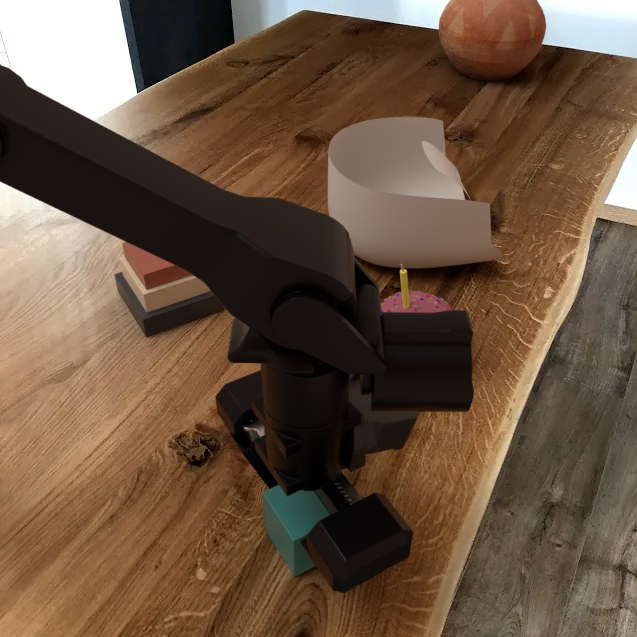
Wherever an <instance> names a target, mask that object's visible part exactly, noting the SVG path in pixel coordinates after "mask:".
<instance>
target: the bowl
mask: <svg viewBox="0 0 637 637" xmlns="http://www.w3.org/2000/svg"><path fill="white" fill-rule="evenodd" d="M445 141H446V140H445V128H444V120H442V119H438V118H432V117H424V116H391V117H380V118H379V117H378V118H374V119H373V118H372V119H368V120H364V121H359V122H356V123H353V124H351V125H350V124H349V125H348V126H346V127H344V128H341V129H340V130H339V131H338V132H337V133H336V134H334V136H333V137H332V138H331V140H330V142H329V145H328V151H327V152H328V153H327V155H328V156H327V208H328V216H330V217H332V218H334V219H335V220H337V221H338V222H339V223H341V224H342V225H343V226H344V227H345V229H346V230H347V231H348V233H349V237H350V239H351V242H352V246H353V251H354V257H357V258H359V259H361V260H362V261H365V262H368V263H371V264H373V265H377V266H382V267H387V268H396V269H401V265H400V264H402V265H403V269H430V268H432V269H433V268H441V267H451V266H452V267H453V266H460V265H468V264H475V263H483V262H489V261H490V262H491V261H498V260H503V258H504V254H503V252H502V251H501V250H500V249H499V248H497V247H496V246H494V245H492V224H491V223H492V222H491V221H492V220H491V203H489V202H484V201H477V200H472V199H471V198H470V195H469V193H468V192H467V190H466V188H465V186H464V185H463V183H462V179H461V175H460V173H459V170H458V168H457V167H456V165H455V164H454V163H453V162H452V161H451V160H450V159H449V158H448V157H447V155H446V154H447V153H446V142H445ZM464 192H465V194H466V195H467V197H468V198H469V200H468V199H466V197H465V194H464Z"/></svg>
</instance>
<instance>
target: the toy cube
mask: <svg viewBox="0 0 637 637" xmlns="http://www.w3.org/2000/svg"><path fill="white" fill-rule="evenodd" d="M262 508H263V522H264V523H263V524H264V531H265V532H266V534H267V535H268V537H269V538H270V541H271V542H272V544H273V545H274V547H275V548H276V551H277V552H278V553H279V555H280V557H281V558H282V560H283V561H284V563H285V565H286V566H287V567H288V570H289V571H290V572H291V574H292V576H293V577H294V578H295V577H296V578H297V576H300V575H302V574H304V573H305V572H307V571H309V570H311V569H312V568H316V566H315V565H314V563H313V562H312V560H311V559H310V557H309V555H308V554H307V552H306V551H305V549H304V548H303V546H302V545H301V543H300V541H301V540H303V539H305V538H307V534H308V533H309V532H310V530H311V529H312V528H313V527H314V526H315V525H316V524H317V522H318V521H319V520H321V519H323V518H325V517H327V516H329V515H330V514H329V513H328V511H327V510H326V508H325V507H324V506H323V504H322V503H321V501H320V500H319V498H318V497H317V496H316V494H315V493H314V491H303V490H301V491H298V492H296V493H294V494H292V495H290V496H286V494H285V493H284V491H283V490H282V488H281V487H280V485H277V486H275V487H273V488H271V489H269V488H268V489H267V490H265V491H262Z"/></svg>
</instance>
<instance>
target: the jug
mask: <svg viewBox="0 0 637 637" xmlns="http://www.w3.org/2000/svg"><path fill="white" fill-rule="evenodd" d="M546 30H547V20H546V15H545V13H544V10H543V7H542V6H541V4H540V2H539V1H538V0H449V1H448V3H447V4H446V6H445V7H444V9H443V10H442V13H441V15H440V16H439V19H438V35H439V36H438V37H439V42H440V45H441V48H442V50H443V52H444V53H445V55H446V57H447V59H448V60H449V62H450V63H451V65H452V66H453V68H454V69H455V70H456V71H457V72H458V73H459V74H461V75H463V76H466V77H467V78H470V79H474V80H478V81H479V80H480V81H484V82H485V81H487V82H488V81H489V82H490V81H491V82H496V81H497V82H498V81H504V80H509V79H511V78H514V77H515V76H516V75H518V74H519V73H520V72H521V71H523V69H524V68H525V67H526V66H528V65H529V64H530V63H531V62H532V61H533V59H534V58H535V57H536V56H537V55H538V53H539V51H540V50H541V47H542V45H543V42H544V39H545V36H546V32H547V31H546Z"/></svg>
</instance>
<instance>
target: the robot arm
mask: <svg viewBox="0 0 637 637" xmlns="http://www.w3.org/2000/svg"><path fill="white" fill-rule="evenodd" d="M0 183H1V184H3V185H6V186H8V187H10V188H12V189H14V190H16V191H18V192H20V193H22V194H24V195H27V196H29V197H31V198H33V199H35V200H37V201H39V202H41V203H43V204H46V205H48V206H50V207H52V208H54V209H56V210H58V211H60V212H63V213H65V214H66V215H69V216H71V217H73V218H75V219H77V220H79V221H81V222H83V223H85V224H87V225H90V226H91V227H94V228H96V229H98V230H100V231H102V232H104V233H106V234H108V235H111V236H113V237H115V238H117V239H119V240H121V241H123V242H124V243H125V242H127V243H129V244H131V245H134V246H136V247H138V248H140V249H142V250H144V251H146V252H148V253H150V254H152V255H155V256H157V257H159V258H161V259H163V260H165V261H167V262H169V263H171V264H173V265H176V266H178V267H180V268H182V269H184V270H186V271H187V272H189V273H190V274H192V275H193V276H195V277H196V278H198V279H199V280H201V281H202V282H203V283H205V284H206V286H207V287H208V288H209V289H210V290H211V292H212V293H213V294H214V295H215V296H216V298H217V299H218V300H219V301H220V302H221V304H222V305H223V308H224V309H225V310H226V311H227V313H228V314H230V316H232V317H233V319H232V321H231V327H230V333H229V334H230V335H229V340H228V341H229V342H228V348H227V356H226V359H227V360H228V362H230V363H231V364H260V369H259V370H256V371H253V372H251V373H249V374H247V375H244V376H242V377H239V378H237V379H234V380H232V381H229V382H227V383H225V384H224V385H223V386H222V387H221V388H220V390H219V391H218V393H217V394H216V395H215V396H214V397H215V399H214V400H215V407H216V413H217V415H218V416H219V418H220V420H222V422H223V424H224V426H225V427H226V429H227V430H228V432H229V435H230V437H231V439H232V440H233V441H234V443H235V444H236V446H237V448H238V449H239V450H240V452H241V454H242V455H243V457H244V458H245V459H246V461H247V462H248V463H249V464H250V466H251V467H252V468H253V469H254V471H255V472H256V474H257V475H258V476H259V477H260V479H261V480H262V481H263V483H264V484H265V485H266V487H267V488H268V490H269V489H271V488H273V487H275V486H277V485H280V487H281V488H282V490H283V491H284V493H285V494H286V496H290V495H292V494H294V493H296V492H298V491H301V490H303V491H314V493H315V494H316V496H317V497H318V498H319V500H320V501H321V503H322V504H323V506H324V507H325V508H326V510H327V511H328V513H329V514H330V515H329V516H327V517H325V518H323V519H321V520H319V521H318V522H317V524H316V525H315V526H314V527H313V528H312V529H311V530H310V532H309V533H308V534H307V538H305V539H303V540H301V541H300V543H301V545H302V546H303V548H304V549H305V551H306V552H307V554H308V555H309V557H310V559H311V560H312V562H313V563H314V565H315V568H316V569H317V571H318V572H319V573H320V574H321V575H322V577H323V578H324V579H325V581H326V583H327V584H328V586H329V587H330V589H331V590H332V591H333V592H337V593H340V594H346V593H348V592H350V591H352V590H353V589H355V588H357V587H359V586H361V585H362V584H364V583H366V582H368V581H370V580H371V579H373V578H376V577H377V576H378V575H380V574H383V573H384V572H386V571H388V570H389V569H391V568H393V567H394V566H396V565H398V564H400V563H402V562H403V561H405V560H407V559H409V558H410V554H411V550H412V544H413V537H414V530H413V529H412V528H411V526H410V524H408V523H407V521H406V520H405V519H404V518H403V517H402V515H401V514H400V513H399V511H398V509H396V508H395V507H394V505H393V504H392V502H390V499H388V498H387V496H386V495H385V494H381V493H377V492H373V493H371V494H369V495H366V496H361V495H360V494H359V493H358V491H357V490H356V489H355V487H354V486H353V485H352V484H351V482H350V480H348V478H347V477H346V476H345V474H344V473H343V471H344V470H346V469H347V470H348V471H349V473H353V472H355V471H357V470H359V469H361V468H364V467H365V466H366V457H367V455H372V454H376V453H381V452H385V451H391V450H394V451H399V450H403V448H404V447H405V445H406V443H407V441H408V439H409V436H410V434H411V433H412V431H413V428H414V426H415V425H416V423H417V420H418V418H419V416H420V413H421V412H422V413H423V412H424V413H427V412H429V413H430V412H431V413H433V412H434V413H435V412H437V413H467V412H469V411H470V410H471V407H472V404H473V400H474V394H475V387H474V383H473V353H472V342H473V337H474V330H473V326H472V321H471V317H470V313H469V312H468V310H464V309H463V310H461V309H459V310H458V309H453V310H447V311H441V312H433V313H422V312H382V314H381V296H380V294H381V293H380V286H379V283H377V281H376V280H375V279H374V278H373V277H372V275H371V274H370V273H369V272H368V271H367V270H366V269H365V268H364V266H363V265H362V264H361V262H359V260H357V259H358V258H357V259H356V256H355V255H354V251H353V246H352V242H351V239H350V237H349V233H348V231H347V230H346V229H345V227H344V226H343V225H342V224H341V223H339V222H338V221H337V220H335V219H334V218H332V217H330V216H329V214H325V213H324V212H320V211H317V210H314V209H311V208H309V207H306V206H303V205H301V204H297V203H294V202H292V201H289V200H286V199H283V198H280V197H270V196H269V197H268V196H267V197H265V196H244V195H241V194H238V193H235V192H232V191H230V190H226V189H224V188H222V187H219V186H218V185H217V184H213V183H212V182H211V181H208V180H207V179H204V178H203V177H201V176H199V175H198V174H197V175H196V174H195V173H193V172H191V171H189V170H187V169H185V168H184V167H181V166H180V165H178V164H176V163H174V162H172V161H171V160H168V159H167V158H165V157H163V156H161V155H159V154H157V153H156V152H153V151H151V150H150V149H147V148H146V147H144V146H142V145H140V144H138V143H137V142H134V141H133V140H130V139H128V138H127V137H125V136H123V135H121V134H119V133H117V132H116V131H114V130H112V129H110V128H108V127H106V126H104V125H102V124H101V123H99V122H96V121H95V120H93V119H92V118H89V117H88V116H85V115H84V114H81V113H79V112H78V111H76V110H74V109H72V108H70V107H69V106H67V105H64V104H62V103H61V102H60V101H57V100H55V99H53V98H52V97H50V96H47V95H46V94H44V93H42V92H40V91H38V90H37V89H34V88H32V87H31V86H29V85H28V84H27V83H26V81H25V80H24V79H23V77H22V76H20V74H18V73H16V72H15V71H14V70H12V69H11V68H10V67H7V66H4V65H1V64H0Z"/></svg>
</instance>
